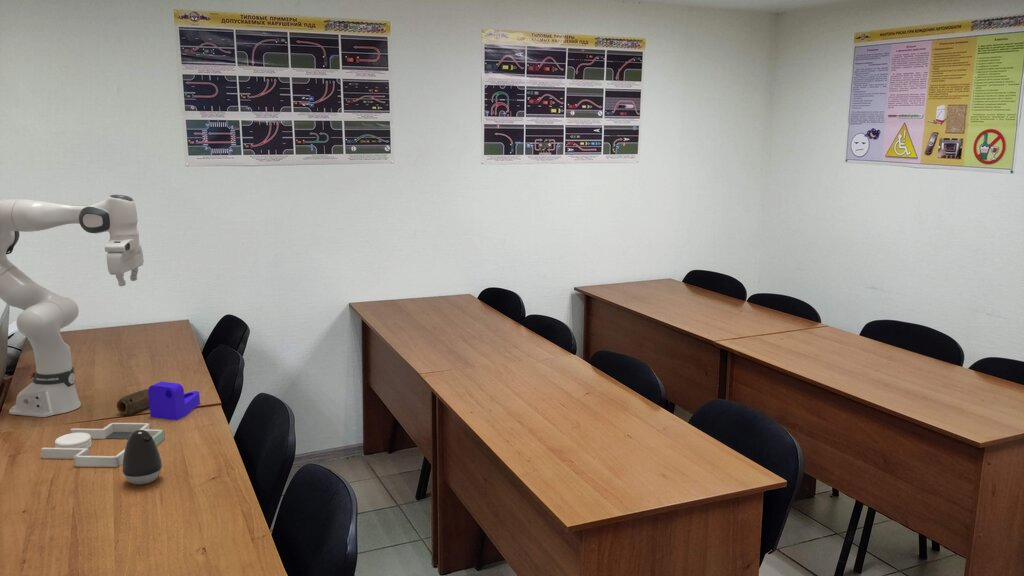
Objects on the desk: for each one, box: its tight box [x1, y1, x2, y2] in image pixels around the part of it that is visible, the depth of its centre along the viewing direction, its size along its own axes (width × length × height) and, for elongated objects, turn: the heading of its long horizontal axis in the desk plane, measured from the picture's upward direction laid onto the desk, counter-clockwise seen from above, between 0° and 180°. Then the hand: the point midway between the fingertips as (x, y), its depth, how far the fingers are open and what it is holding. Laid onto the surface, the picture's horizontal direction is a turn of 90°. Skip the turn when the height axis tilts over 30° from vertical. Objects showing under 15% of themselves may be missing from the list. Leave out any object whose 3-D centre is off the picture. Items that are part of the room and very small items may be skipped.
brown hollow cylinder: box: [116, 388, 150, 416], centre depth 287 cm, size 15×7×7 cm, turn 164°
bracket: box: [147, 381, 201, 421], centre depth 286 cm, size 18×11×12 cm, turn 163°
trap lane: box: [40, 422, 166, 468], centre depth 252 cm, size 30×28×3 cm
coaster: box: [54, 432, 93, 449], centre depth 253 cm, size 10×10×4 cm
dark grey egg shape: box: [121, 430, 163, 485], centre depth 228 cm, size 10×10×15 cm
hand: (128, 283), depth 276 cm, fingers open, 8 cm apart
